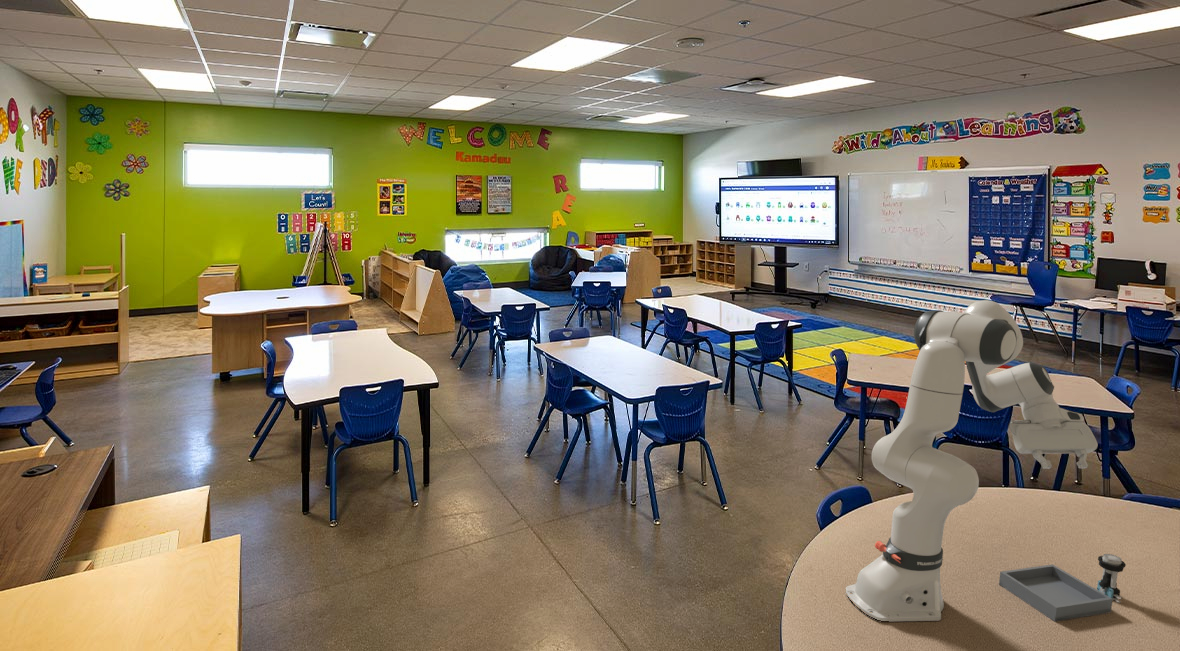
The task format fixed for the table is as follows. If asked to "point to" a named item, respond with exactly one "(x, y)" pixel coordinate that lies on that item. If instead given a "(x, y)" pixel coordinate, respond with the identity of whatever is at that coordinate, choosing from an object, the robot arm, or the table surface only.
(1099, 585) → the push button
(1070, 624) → the table surface
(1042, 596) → the dock tray
